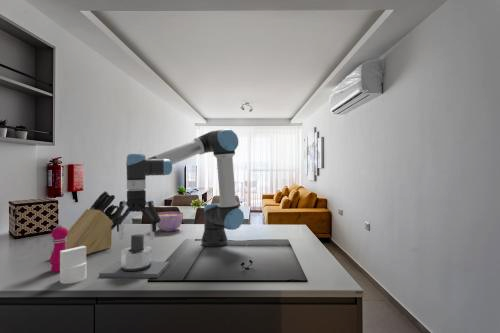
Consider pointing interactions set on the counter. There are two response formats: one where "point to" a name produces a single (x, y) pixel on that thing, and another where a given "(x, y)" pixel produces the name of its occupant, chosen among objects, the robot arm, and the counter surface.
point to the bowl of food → (169, 221)
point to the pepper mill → (58, 246)
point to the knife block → (94, 226)
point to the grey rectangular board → (151, 272)
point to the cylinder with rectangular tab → (73, 265)
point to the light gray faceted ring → (136, 259)
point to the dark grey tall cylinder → (137, 242)
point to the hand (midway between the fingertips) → (136, 239)
